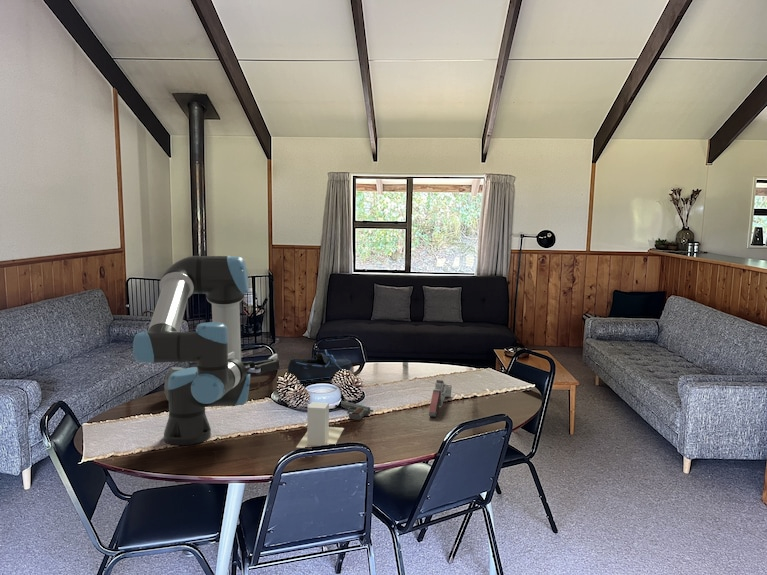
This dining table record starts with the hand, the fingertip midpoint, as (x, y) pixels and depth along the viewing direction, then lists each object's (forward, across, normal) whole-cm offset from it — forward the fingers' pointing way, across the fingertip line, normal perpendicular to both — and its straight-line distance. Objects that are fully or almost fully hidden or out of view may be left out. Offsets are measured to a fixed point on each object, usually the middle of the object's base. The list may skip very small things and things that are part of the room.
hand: (254, 356), depth 176 cm
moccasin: (+98, -2, -32) cm, 103 cm away
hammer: (+61, -39, -32) cm, 79 cm away
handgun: (+48, +21, -33) cm, 62 cm away
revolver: (+61, +56, -32) cm, 90 cm away
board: (+17, +17, -32) cm, 40 cm away
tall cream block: (+12, +17, -31) cm, 37 cm away
